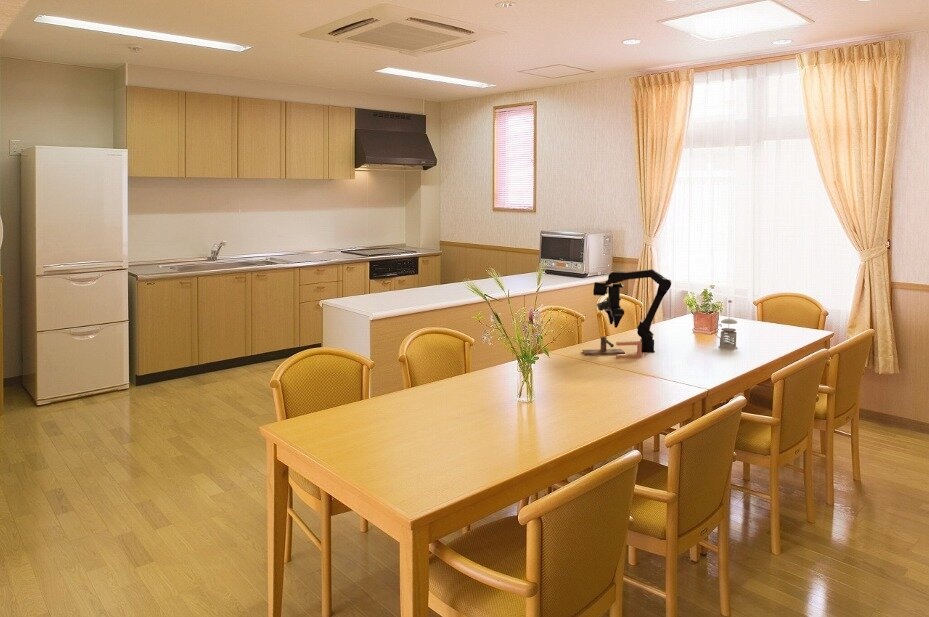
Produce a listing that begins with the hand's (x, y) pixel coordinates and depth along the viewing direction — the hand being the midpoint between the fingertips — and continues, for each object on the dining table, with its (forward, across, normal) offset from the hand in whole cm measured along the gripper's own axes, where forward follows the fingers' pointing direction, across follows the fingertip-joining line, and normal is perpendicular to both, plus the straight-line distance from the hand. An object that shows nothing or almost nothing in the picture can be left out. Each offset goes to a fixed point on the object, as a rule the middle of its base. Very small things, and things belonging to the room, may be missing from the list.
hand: (613, 325), depth 363 cm
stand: (+12, +15, -7) cm, 20 cm away
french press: (+13, +2, +59) cm, 60 cm away
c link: (+13, +19, +3) cm, 23 cm away
